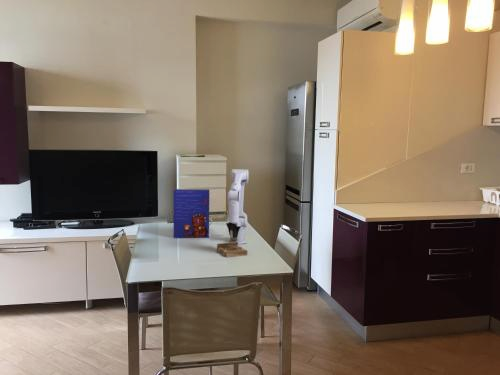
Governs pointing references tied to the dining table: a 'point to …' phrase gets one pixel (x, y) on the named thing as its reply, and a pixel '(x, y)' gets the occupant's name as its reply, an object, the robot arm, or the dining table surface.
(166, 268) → the dining table surface
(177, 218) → the cereal box
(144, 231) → the dining table surface
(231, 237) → the bushing
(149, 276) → the dining table surface
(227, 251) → the jig
